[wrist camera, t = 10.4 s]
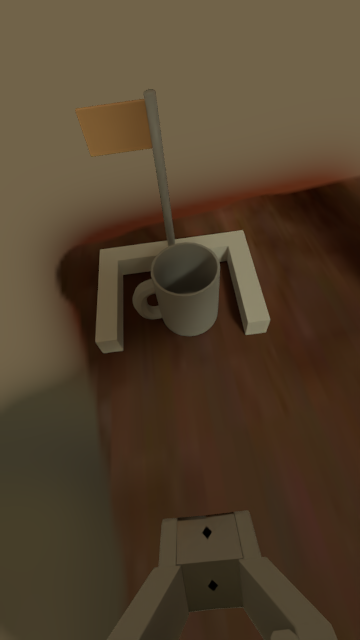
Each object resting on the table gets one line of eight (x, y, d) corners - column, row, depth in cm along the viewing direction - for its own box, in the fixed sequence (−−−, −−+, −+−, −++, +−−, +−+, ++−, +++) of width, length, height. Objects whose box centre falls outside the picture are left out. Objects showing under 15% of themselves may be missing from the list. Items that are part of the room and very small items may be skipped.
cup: (225, 329, 36) (229, 286, 29) (146, 350, 36) (129, 310, 28) (208, 285, 40) (208, 235, 33) (137, 302, 40) (119, 256, 32)
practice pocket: (265, 332, 36) (324, 168, 18) (103, 353, 36) (-1, 213, 18) (240, 245, 43) (264, 68, 25) (106, 264, 44) (34, 102, 26)
